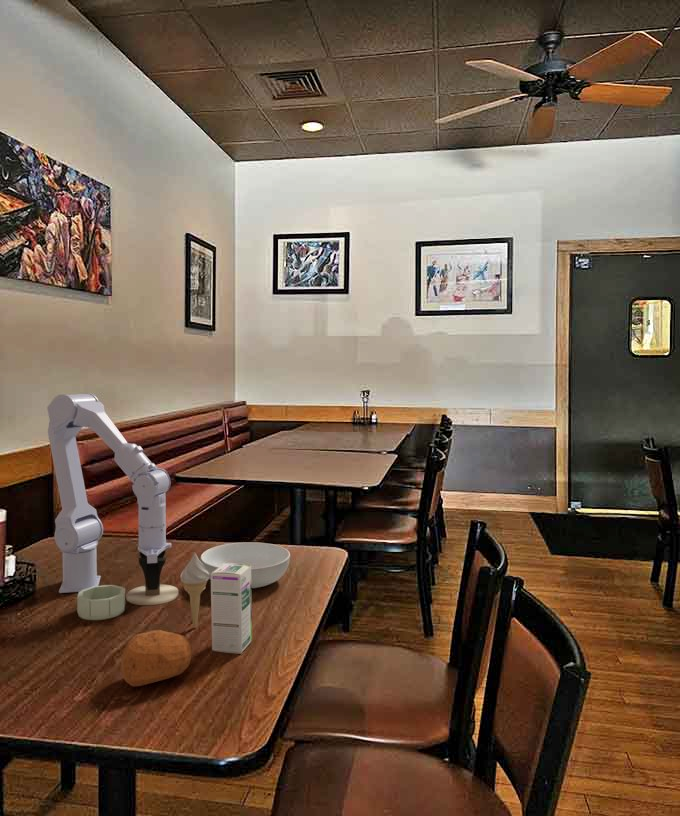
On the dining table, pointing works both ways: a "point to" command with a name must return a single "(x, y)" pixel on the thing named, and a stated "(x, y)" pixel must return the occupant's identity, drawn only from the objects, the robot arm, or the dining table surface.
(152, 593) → the lid
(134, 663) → the potato
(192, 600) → the ice cream cone
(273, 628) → the dining table surface
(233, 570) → the syrup box
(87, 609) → the bowl
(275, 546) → the serving bowl
